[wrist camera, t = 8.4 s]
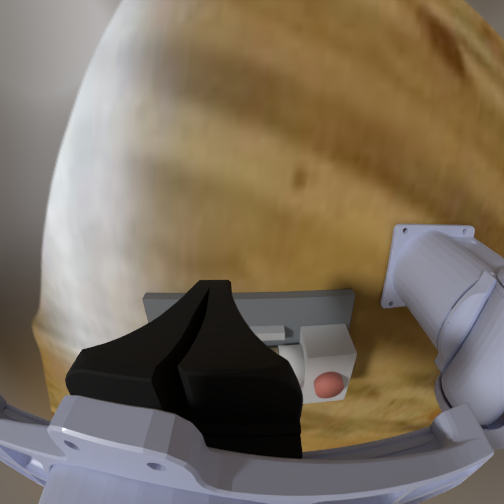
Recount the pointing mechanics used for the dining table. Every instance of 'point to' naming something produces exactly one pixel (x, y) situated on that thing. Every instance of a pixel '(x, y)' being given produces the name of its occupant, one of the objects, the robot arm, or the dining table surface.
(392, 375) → the dining table surface
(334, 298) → the valve board
